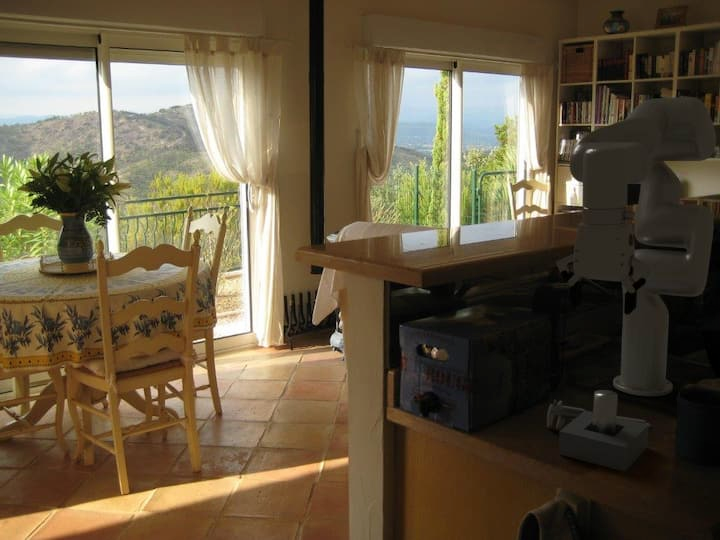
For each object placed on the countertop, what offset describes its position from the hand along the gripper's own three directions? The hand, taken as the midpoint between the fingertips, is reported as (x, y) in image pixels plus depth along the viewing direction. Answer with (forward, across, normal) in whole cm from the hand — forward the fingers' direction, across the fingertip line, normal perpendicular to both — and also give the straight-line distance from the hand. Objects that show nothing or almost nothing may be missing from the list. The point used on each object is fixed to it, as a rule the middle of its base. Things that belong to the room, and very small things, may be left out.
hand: (602, 309), depth 132 cm
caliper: (+26, +2, -5) cm, 27 cm away
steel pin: (+24, -2, +5) cm, 25 cm away
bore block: (+25, -2, +5) cm, 26 cm away
